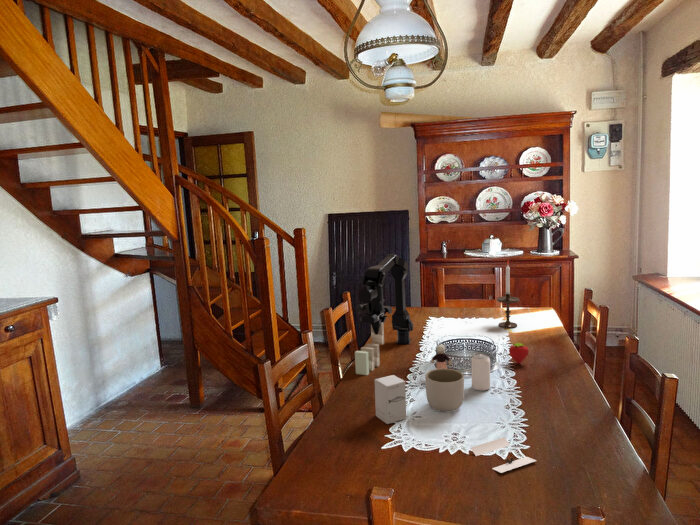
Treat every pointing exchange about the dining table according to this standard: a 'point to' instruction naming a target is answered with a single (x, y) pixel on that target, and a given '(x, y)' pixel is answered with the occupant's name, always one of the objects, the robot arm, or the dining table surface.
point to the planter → (445, 389)
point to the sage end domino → (362, 362)
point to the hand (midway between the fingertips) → (377, 333)
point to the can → (480, 372)
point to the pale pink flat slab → (497, 445)
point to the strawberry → (518, 352)
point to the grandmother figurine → (441, 358)
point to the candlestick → (507, 301)
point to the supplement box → (390, 399)
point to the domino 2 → (378, 335)
